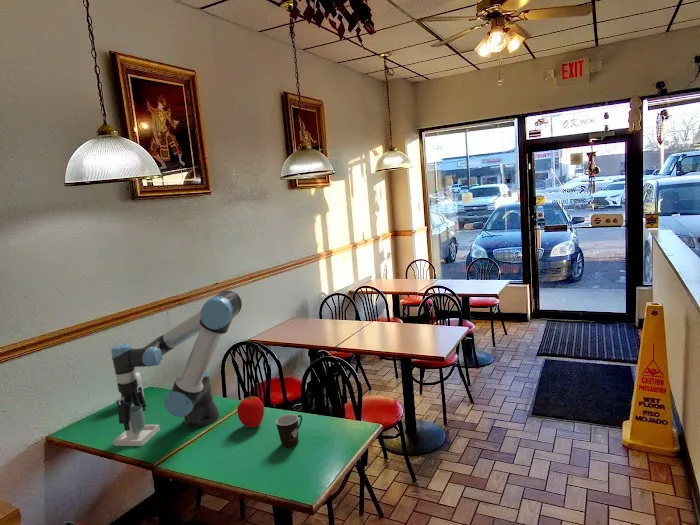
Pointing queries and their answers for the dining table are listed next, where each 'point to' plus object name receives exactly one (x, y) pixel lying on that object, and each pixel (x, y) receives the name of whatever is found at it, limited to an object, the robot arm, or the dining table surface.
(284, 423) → the coffee mug
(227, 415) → the dining table surface
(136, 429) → the cup
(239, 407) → the tomato
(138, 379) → the supplement tub
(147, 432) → the dish
